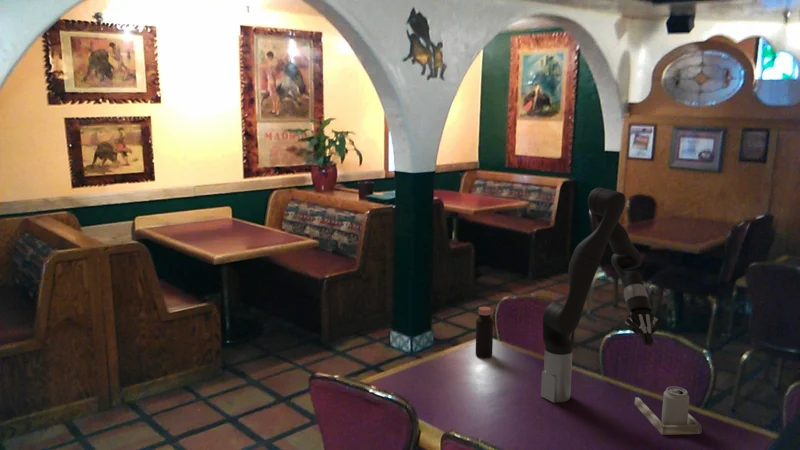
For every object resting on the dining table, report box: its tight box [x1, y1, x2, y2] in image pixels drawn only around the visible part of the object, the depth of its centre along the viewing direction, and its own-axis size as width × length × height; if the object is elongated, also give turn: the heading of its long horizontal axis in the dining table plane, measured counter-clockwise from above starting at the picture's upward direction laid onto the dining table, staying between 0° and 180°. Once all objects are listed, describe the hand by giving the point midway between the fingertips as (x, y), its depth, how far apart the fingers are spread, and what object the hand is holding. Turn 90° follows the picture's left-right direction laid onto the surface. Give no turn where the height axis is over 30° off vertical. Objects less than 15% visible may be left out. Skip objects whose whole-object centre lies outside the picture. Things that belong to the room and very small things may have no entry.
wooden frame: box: [634, 397, 703, 436], centre depth 205 cm, size 20×12×2 cm, turn 3°
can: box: [661, 385, 690, 425], centre depth 200 cm, size 8×8×12 cm
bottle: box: [475, 306, 494, 359], centre depth 255 cm, size 7×7×20 cm
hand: (649, 345), depth 215 cm, fingers closed
